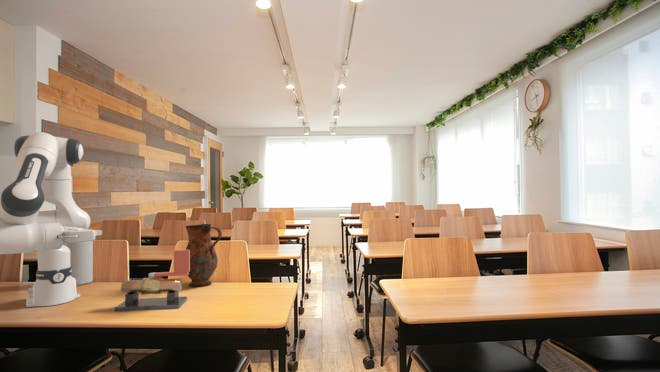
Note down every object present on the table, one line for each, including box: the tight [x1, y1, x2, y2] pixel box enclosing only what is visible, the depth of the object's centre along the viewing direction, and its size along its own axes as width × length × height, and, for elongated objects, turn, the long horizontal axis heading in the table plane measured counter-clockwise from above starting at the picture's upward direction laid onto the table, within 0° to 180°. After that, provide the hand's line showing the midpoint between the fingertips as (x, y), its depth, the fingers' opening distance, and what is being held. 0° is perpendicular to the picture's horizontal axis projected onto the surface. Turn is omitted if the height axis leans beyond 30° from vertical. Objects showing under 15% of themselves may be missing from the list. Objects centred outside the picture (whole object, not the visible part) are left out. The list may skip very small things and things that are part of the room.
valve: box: [114, 276, 188, 312], centre depth 146 cm, size 24×11×11 cm, turn 96°
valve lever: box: [148, 249, 190, 278], centre depth 147 cm, size 16×3×11 cm, turn 98°
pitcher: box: [185, 223, 223, 288], centre depth 178 cm, size 17×21×30 cm
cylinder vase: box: [65, 241, 94, 287], centre depth 184 cm, size 12×12×25 cm
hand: (100, 232), depth 128 cm, fingers closed
